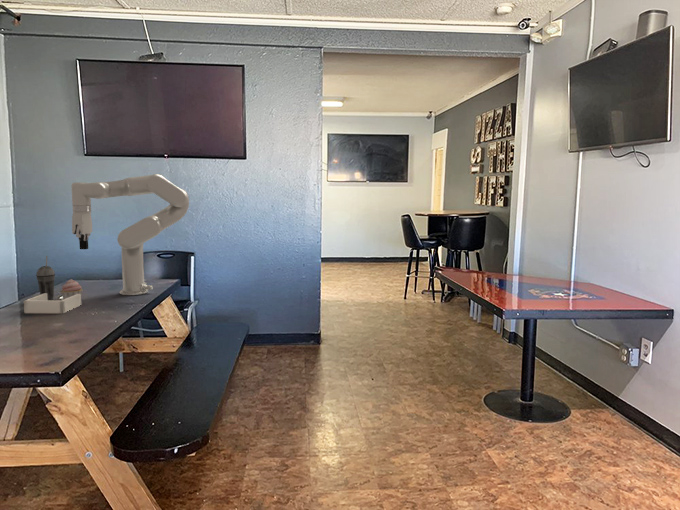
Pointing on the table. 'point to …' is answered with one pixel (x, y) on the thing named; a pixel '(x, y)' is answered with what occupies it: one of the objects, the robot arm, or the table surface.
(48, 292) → the beverage cup
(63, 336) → the table surface
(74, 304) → the box
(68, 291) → the cupcake
